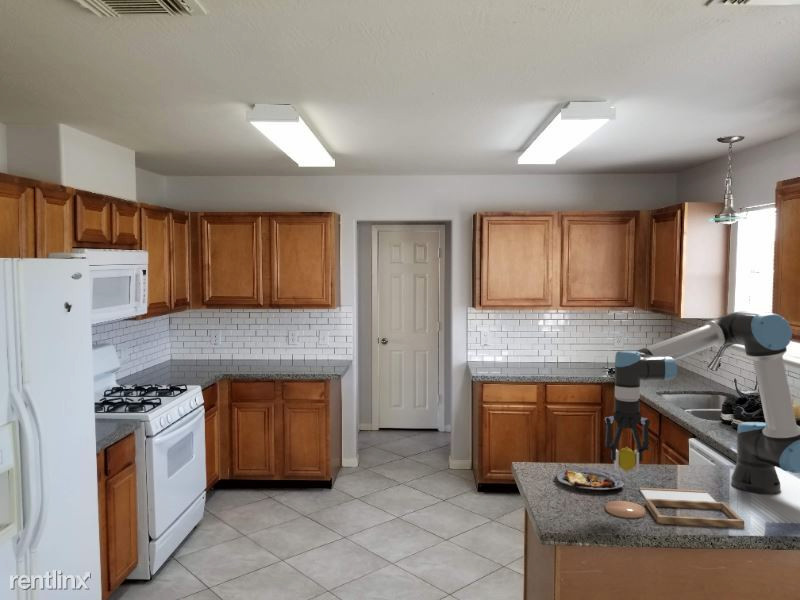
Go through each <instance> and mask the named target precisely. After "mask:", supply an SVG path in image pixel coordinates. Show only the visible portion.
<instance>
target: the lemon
mask: <svg viewBox="0 0 800 600" xmlns="http://www.w3.org/2000/svg"><path fill="white" fill-rule="evenodd" d="M618 451H619V464H618V467H620V468H621V469H622V470H624V471H625V472H627V473H628V472H629V471H630V470H632V469H634V466H635V464H636V457H635V451H634V450H632V448H629V447H628V446H625V447H623V448H621V449H620V450H618Z"/></svg>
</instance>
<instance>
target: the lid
mask: <svg viewBox="0 0 800 600" xmlns="http://www.w3.org/2000/svg"><path fill="white" fill-rule="evenodd" d="M638 488H639V489H638V490H639V492H640V494H641V495H642V496H643V498H644V499H645V498H648V499H668V500H688V501H708V502H717V501H716V500H715V499H714V498H713V497H712V496H711V495H710V494H709V493H708V491H707V490H699V489H696V490H695V489H679V488H678V489H677V488H660V487H659V488H658V487H657V488H656V487H655V488H654V487H638Z"/></svg>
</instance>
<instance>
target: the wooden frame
mask: <svg viewBox="0 0 800 600" xmlns="http://www.w3.org/2000/svg"><path fill="white" fill-rule="evenodd" d="M644 499H645V500H644V501H645V506H646V507H647V509H648V510H649V512H650V513H651V515H652V516H653V518H654V519H655V521H656V522H657V523H658V524H665V525H666V524H667V525H684V526H685V525H687V526H702V527H703V526H704V527H706V526H707V527H718V526H719V527H721V528H736V529H737V528H739V529H745V520H744V519H743V518H742V517H741V516H739V514H737V513H736V512H735V510H734V509H732V508H731V507H730V506H729V505H728V504H727V503H726V502H724V501H723V502H722V501H716V502H708V501H688V500H668V499H648V498H644ZM656 507H665V508H667V507H668V508H680V509H681V508H683V509H701V510H702V509H703V510H704V509H705V510H720V509H722V511H723V513H725V514H726V515H727V517H729V518H717V517H716V518H715V517H701V516H700V517H698V516H697V517H696V516H681V515H662V513H660V511H659V510H658V508H656Z"/></svg>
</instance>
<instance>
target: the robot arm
mask: <svg viewBox="0 0 800 600" xmlns="http://www.w3.org/2000/svg"><path fill="white" fill-rule="evenodd" d="M792 337H793V332H792V327H791V325H790V323H789V321H788V320H787V319H786V318H785V317H783V316H782V315H780V314H777V313H772V312H767V311H762V312H761V311H744V310H743V311H742V310H740V311H735V312H731V313H728V314H725V315H721V316H719V317H717V318H714V319H711V320H707V321H706V322H705V323H704V325H703V326H700V327H697V328H694V329H693V330H689V331H686V332H684V333H681V334H679V335H677V336H673V337H671V338H668V339H665V340H662V341H660V342H656V343H654V344H652V345H648V346H646V347H643V348H640V349H637V350H618V351H617V352H616V353H615V358H614V398H615V399H614V413H613V415H610V416H604V421H605V423H606V425H605V442H604V445H605V447H606V449H609V450H610V458H611V460H612V461H613V462H614V463H613V465H614V471H615V472H619V451H620V450H618V449H617V448H618V446H619V443H620V438H621V436H622V432H623V431H624V429H629V430H631V432H632V436H633V439H634V443H635V447H636V449H634V453H635V457H636V464H635V466H634V467H633V470H634V471H635V472H636V473H637V474H638V473H639V472H640V462H642V461H643V453H644V451H648V450H649V449H650V447H649V446H650V445H649V444H650V443H649V425H650V422H651V420H650V419H649V418H647V417H642V416H641V414H640V413H641V408H640V407H641V401H640V400H639V399H640V398H641V393H640V391H641V381H667V380H672V379H674V378H675V377H676V376H677V373H678V366H677V361H676V360H680V359H681V358H682V359H683V358H684V357H687V356H691V355H692V354H696V353H698V352H701V351H704V350H706V349H709V348H712V347H716V348H720V347H723V346H727V345H741V346H744V349H745V355H746V356H748V357H749V358H750V359H752V363H753V367H754V372H755V378H756V383H757V387H758V392H759V397H760V401H761V408H762V411H763V418H764V420H765V422H762V421H761V422H760V421H745V422H740V423H739V424H738V425H737V430H736V431H737V432H736V456H737V457H736V464H735V468H734V470H733V471H732V475H731V482H730V483H731V485H733V487H734V488H738V489H740V490H743V491H745V492H751V493H756V494H766V495H767V494H769V495H770V494H777V493H779V492H781V487H782V486H781V482H780V478H779V475H778V473H777V470H776V468H778V469H781V470H783V471H785V472H789V473H792V474H800V425H798V424H797V421H796V416H795V410H794V406H793V402H792V396H791V392H790V386H789V382H788V376H787V372H786V367H785V362H784V358H783V356H784V355H785V354H786V352H787V350H788V349H787V346H788V345H789V344H790V343H791V339H792ZM614 421H615V422H616V424H617V425H616V429H615V432H614V435H613V439H612V427H613V426H612V424H613V422H614ZM639 423H641V424H642V425H641V426H642V427H641V428H642V429H641V430H642V434H641V436H642V443H641V438H640V435H639V432H638V429H637V425H638V424H639ZM611 442H612V443H611Z"/></svg>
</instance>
